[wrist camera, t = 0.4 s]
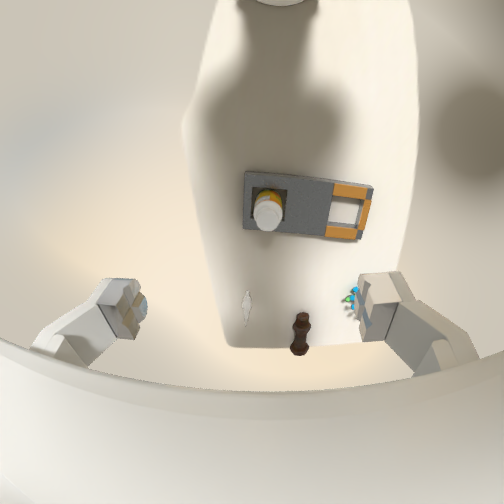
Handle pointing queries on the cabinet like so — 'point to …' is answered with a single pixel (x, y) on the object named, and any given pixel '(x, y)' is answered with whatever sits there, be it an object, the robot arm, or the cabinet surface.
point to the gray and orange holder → (309, 204)
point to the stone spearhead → (246, 306)
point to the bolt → (300, 334)
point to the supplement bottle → (268, 210)
